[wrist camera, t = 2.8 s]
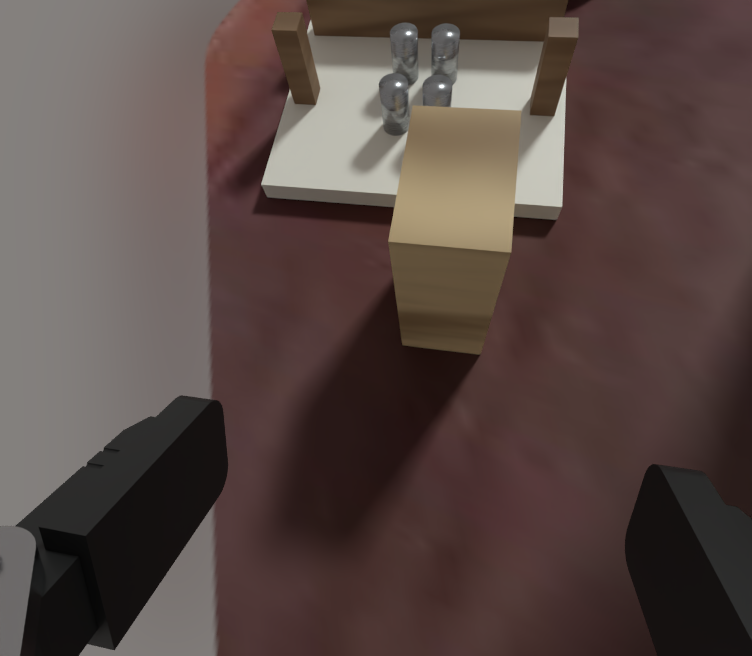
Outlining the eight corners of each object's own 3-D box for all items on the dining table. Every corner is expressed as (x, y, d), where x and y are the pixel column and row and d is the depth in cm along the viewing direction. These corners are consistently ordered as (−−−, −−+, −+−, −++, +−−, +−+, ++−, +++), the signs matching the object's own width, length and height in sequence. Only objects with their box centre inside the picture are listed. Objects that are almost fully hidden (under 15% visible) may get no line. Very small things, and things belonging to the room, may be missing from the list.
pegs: (448, 138, 29) (450, 97, 26) (381, 135, 30) (376, 94, 27) (458, 69, 31) (461, 23, 28) (395, 66, 32) (392, 22, 29)
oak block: (480, 354, 25) (511, 252, 16) (402, 345, 26) (388, 241, 17) (489, 252, 27) (521, 110, 18) (417, 246, 28) (412, 105, 19)
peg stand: (556, 219, 28) (562, 207, 26) (267, 197, 30) (261, 184, 29) (563, 41, 33) (567, 24, 32) (314, 35, 35) (311, 19, 34)
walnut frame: (554, 116, 29) (578, 37, 24) (294, 103, 31) (271, 30, 27) (558, 28, 31) (580, -58, 27) (318, 23, 34) (300, -57, 29)
